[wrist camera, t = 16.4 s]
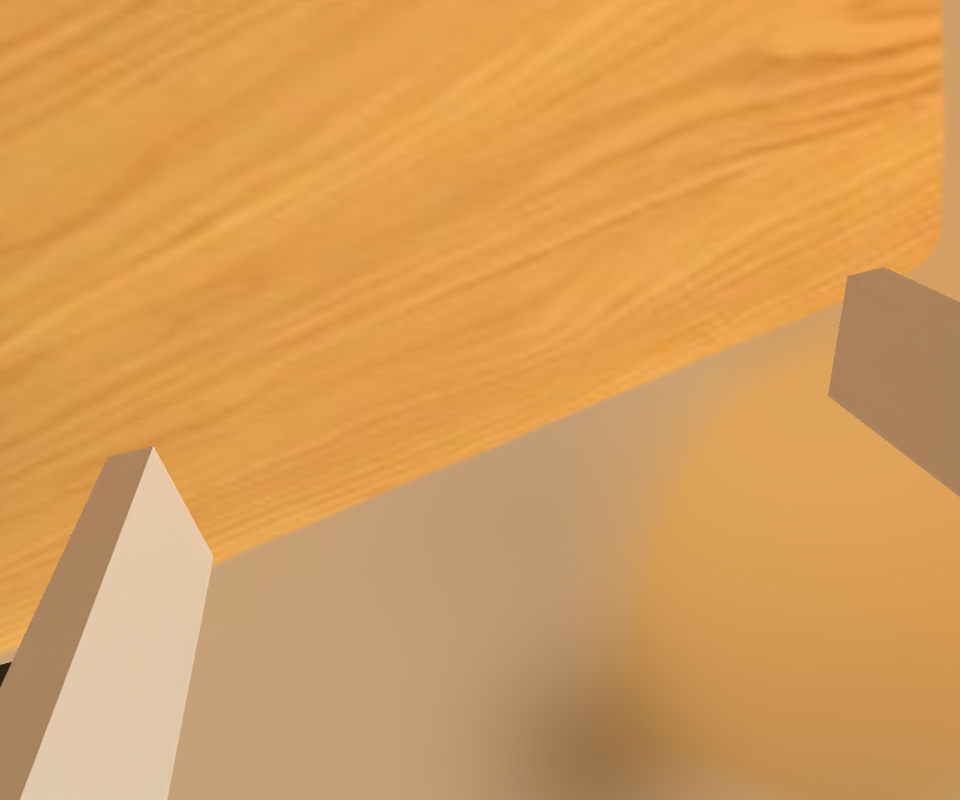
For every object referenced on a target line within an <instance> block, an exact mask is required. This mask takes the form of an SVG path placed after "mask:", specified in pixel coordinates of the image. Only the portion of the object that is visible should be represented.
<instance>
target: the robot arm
mask: <svg viewBox="0 0 960 800" xmlns="http://www.w3.org/2000/svg"><path fill="white" fill-rule="evenodd" d="M828 396H829V397H830V398H832V399H833V400H834V401H836V402H837V403H838V404H839V405H841V406H842V407H843V408H845V409H846V410H847V411H849V412H850V413H851V414H853V415H854V416H855V417H856V418H858V419H859V420H861V421H862V422H863V423H864V424H866V425H867V426H868V427H870V428H871V429H872V430H873V431H875V432H876V433H878V434H879V435H880V436H881V437H883V438H884V439H885V440H887V441H888V442H889V443H891V444H892V445H893V446H895V447H896V448H897V449H898V450H900V451H901V452H902V453H904V454H905V455H906V456H907V457H909V458H910V459H911V460H913V461H914V462H915V463H917V464H918V465H919V466H921V467H922V468H923V469H924V470H926V471H927V472H928V473H930V474H931V475H932V476H934V477H935V478H937V479H938V480H939V481H940V482H942V483H943V484H944V485H945V486H947V487H948V488H949V489H951V490H952V491H953V492H955V493H956V494H957V495H959V496H960V302H958V301H956V300H954V299H951V298H949V297H947V296H945V295H943V294H941V293H938V292H936V291H934V290H932V289H930V288H928V287H926V286H923V285H921V284H919V283H917V282H915V281H913V280H910V279H908V278H906V277H904V276H902V275H900V274H897V273H895V272H893V271H891V270H889V269H887V268H884V267H883V268H879V269H875V270H871V271H867V272H863V273H859V274H855V275H851V276H848V278H847V284H846V290H845V296H844V302H843V308H842V315H841V320H840V326H839V332H838V339H837V345H836V350H835V357H834V363H833V369H832V375H831V381H830V387H829V393H828ZM212 563H213V555H212V553H211V552H210V550H209V548H208V546H207V544H206V542H205V540H204V539H203V537H202V535H201V533H200V531H199V529H198V528H197V526H196V524H195V522H194V520H193V518H192V516H191V515H190V513H189V511H188V509H187V507H186V505H185V504H184V502H183V500H182V498H181V496H180V494H179V493H178V491H177V489H176V487H175V485H174V483H173V481H172V480H171V478H170V476H169V474H168V472H167V470H166V469H165V467H164V465H163V463H162V461H161V459H160V457H159V456H158V454H157V452H156V450H155V448H154V446H151V447H147V448H143V449H139V450H135V451H131V452H127V453H123V454H119V455H115V456H111V457H108V458H107V460H106V463H105V465H104V467H103V469H102V471H101V473H100V475H99V477H98V480H97V482H96V484H95V486H94V488H93V490H92V492H91V495H90V497H89V499H88V501H87V503H86V505H85V507H84V510H83V512H82V514H81V516H80V518H79V520H78V522H77V524H76V527H75V529H74V531H73V533H72V535H71V537H70V539H69V542H68V544H67V546H66V548H65V550H64V552H63V554H62V557H61V559H60V561H59V563H58V565H57V567H56V569H55V571H54V574H53V576H52V578H51V580H50V582H49V584H48V586H47V589H46V591H45V593H44V595H43V597H42V599H41V601H40V604H39V606H38V608H37V610H36V612H35V614H34V616H33V618H32V621H31V623H30V625H29V627H28V629H27V631H26V633H25V636H24V638H23V640H22V642H21V644H20V646H19V648H18V651H17V653H16V655H15V657H14V659H13V661H12V662H10V663H6V664H2V665H0V800H167V797H168V792H169V787H170V782H171V777H172V771H173V766H174V761H175V755H176V750H177V745H178V740H179V735H180V729H181V724H182V719H183V714H184V708H185V703H186V698H187V693H188V688H189V683H190V677H191V672H192V667H193V662H194V656H195V651H196V646H197V641H198V635H199V630H200V625H201V620H202V615H203V609H204V604H205V599H206V594H207V589H208V583H209V578H210V573H211V568H212Z"/></svg>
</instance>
